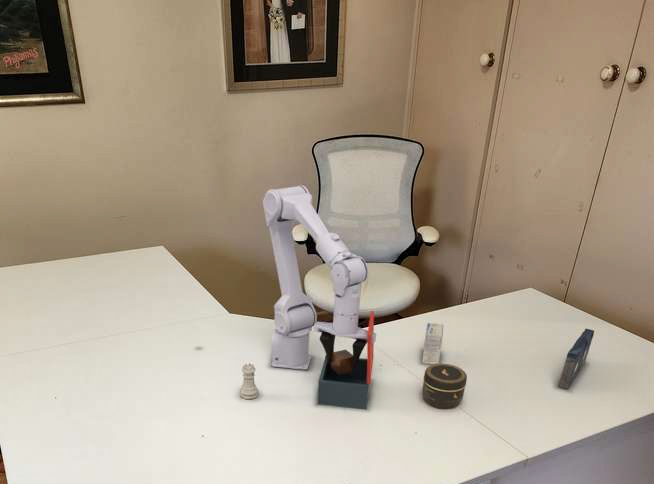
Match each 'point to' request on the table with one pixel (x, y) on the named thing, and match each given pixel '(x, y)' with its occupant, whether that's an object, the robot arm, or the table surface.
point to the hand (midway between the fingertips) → (342, 364)
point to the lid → (370, 348)
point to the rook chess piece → (248, 383)
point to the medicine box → (432, 343)
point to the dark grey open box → (344, 386)
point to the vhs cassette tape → (576, 359)
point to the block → (341, 361)
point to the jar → (443, 386)
